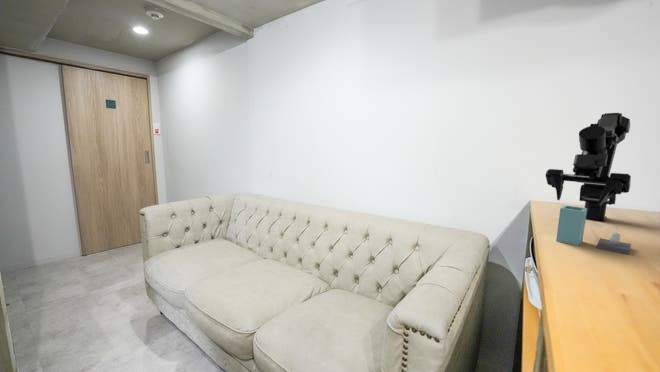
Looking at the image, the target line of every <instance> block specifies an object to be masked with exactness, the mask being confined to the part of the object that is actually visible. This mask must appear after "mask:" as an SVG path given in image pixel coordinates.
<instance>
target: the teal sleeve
mask: <svg viewBox="0 0 660 372" xmlns="http://www.w3.org/2000/svg"><path fill="white" fill-rule="evenodd" d="M586 214H587V208H584V207H582V206H580V207H579V206H574V205H573V206H572V205H568V204H567V205H562V207H560V209H559V216H558V224H557V232H556V237H555V238H556V240H555V241H556V242H560V243H565V244H568V245H572V246H577V247H578V246H580V245H581V243H582V242H584V241H583V240H584V234H585V227H586V222H587V221H586V220H587V219H586Z"/></svg>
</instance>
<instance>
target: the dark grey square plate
mask: <svg viewBox="0 0 660 372" xmlns="http://www.w3.org/2000/svg"><path fill="white" fill-rule="evenodd" d="M609 238H610V239H608V238H607V239H606V238H601V237H600V238H599V240H598V242H597V245H596V248H597V249H601V250H604V251H609V252H610V251H611V252H615V253H618V254H619V253H620V254H623V255H624V254H625V255H628V256H629V255H630V250H631V247H632V246H631V245H632V243H627V242H622V241H620V240H621V234H620V233H619V232H616V231H614V232H612V233H610V237H609Z"/></svg>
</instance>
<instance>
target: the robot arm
mask: <svg viewBox="0 0 660 372" xmlns="http://www.w3.org/2000/svg"><path fill="white" fill-rule="evenodd" d="M630 130H631V119H630V118H628V117H626V116H623V114H622V113H620V112H608V113H607V112H606V113H603V114H601V116H600V118H599V119H597V122H596V123H590V125H589V126H586V127H584V128H582V129H581V130H579V132H578V140H579V148H580V150H581V151H582V152H581V153H580V154H578V153H577V154H575V156H574V160H573V164H572V165H573V168H572V174H571V173H564V169H558V168H557V169H555V168H554V169H553V168H549V169H547V170H546V173H545V179H546V184H547V185H548V186H551V188H555V191H556V199H557V201H560V200H561V197H562V193H563V189H564V184H565V182H575V183H581V185H580V189H579V202H584V207H583V208H587V214H586V220H592V221H600V222H606V221H607V218H608V217H607V216H606V212H607V211H606V210H607V205H609V206H610V205H615V204H616V199H617V198H616V197H617V195H621V194H623V193H625V194H628V193H629V192H630V189H631V180H632V179H631V175H630V174H629V173H618V172H611V169H612V165H613V162H614V158H615V154H616V150H617V147H618V144H620V143H621V142H623V141H624V140H625V138H626V136H627V134H628V133H630ZM573 173H574V174H573Z"/></svg>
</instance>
